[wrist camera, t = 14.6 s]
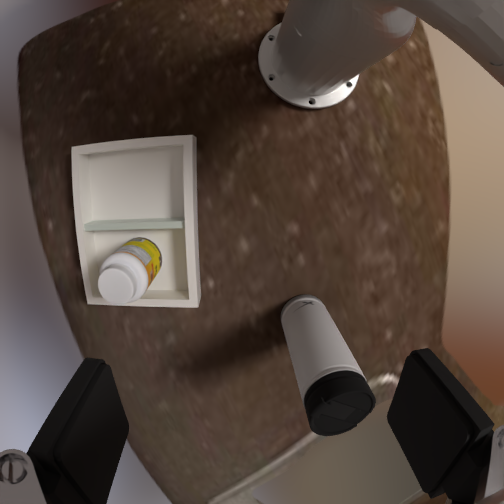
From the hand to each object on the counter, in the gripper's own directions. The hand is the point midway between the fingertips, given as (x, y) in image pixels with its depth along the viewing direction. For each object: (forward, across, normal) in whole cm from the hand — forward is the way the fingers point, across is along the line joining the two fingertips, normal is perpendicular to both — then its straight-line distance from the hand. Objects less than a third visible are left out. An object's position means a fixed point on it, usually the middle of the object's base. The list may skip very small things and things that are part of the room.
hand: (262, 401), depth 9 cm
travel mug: (+31, -8, +13) cm, 34 cm away
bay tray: (+30, +13, 0) cm, 33 cm away
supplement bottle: (+30, +13, +4) cm, 33 cm away
